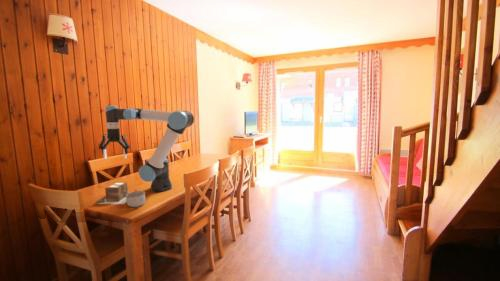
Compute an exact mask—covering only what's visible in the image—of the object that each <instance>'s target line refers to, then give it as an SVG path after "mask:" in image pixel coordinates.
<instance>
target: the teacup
mask: <svg viewBox="0 0 500 281" xmlns="http://www.w3.org/2000/svg"><path fill="white" fill-rule="evenodd" d="M126 200H127V202H126V204H127V206H128V207H131V208H138V207H139V208H140V207H141V206H143V205H144V204H145V203H146V192H145V191H143V190H134V191H130V192H129V193H128V194H127V195H126Z"/></svg>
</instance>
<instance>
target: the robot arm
mask: <svg viewBox="0 0 500 281" xmlns="http://www.w3.org/2000/svg"><path fill="white" fill-rule="evenodd" d="M105 119H106V122H105V124H106V133H107V135H102V139H101V140H100V141H101V142H100V144H99V146H98V149H99V150H101V154H102V155H103V160H106V159H108V154H107V149H106V148H107V147H108V146H109V144H111V143H115V142H116V143H118V144H119V145H120V146H121V147H122V148H123V159H124V160H125V159H128V156H127V154H128V153H129V152H128V149H130V148H131V146H130V143H128V141H127V139H126V136H125V135H124V134H123V135H121V134H120V120H121V121H122V120H123V121H126V120H127V121H130V120H143V121H144V120H145V121H154V122H163V123H164V122H165V123H167V124H166V128H167V129H166V131H165V132H164V134H163V136H162V138H161V139H160V142H159V143H158V145H157V147H156V148H155V151H154V152H153V153H152V156H151V157H148V158H147V160H146V162H144V165H142V166H140V168H139V169H138V175H139V177H140V179H141V180H142V181H144V182H148V183H149V182H150V183H151V184H150V190H151V191H152V192H157V193H158V192H166V191H169V190H171V189H172V188H173V183H172V182H171V179H170V167H169V159H168V158H167V157H168V155H169V153H170V152H171V151H172V148H173V147H174V145H175V143H176V142H177V140H178V138H179V136H181V135H183V134H184V132H185V130H186V129H187V128H190V127H191V126H192V125H193V124H194V122H195V117H194V114H193V113H192V112H190V111H188V110H175V111H166V110H156V109H155V110H154V109H144V108H129V107H128V108H119V107H118V105H106V106H105Z"/></svg>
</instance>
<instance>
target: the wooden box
mask: <svg viewBox="0 0 500 281" xmlns="http://www.w3.org/2000/svg"><path fill="white" fill-rule="evenodd" d="M104 189H105V196H106V202H119V201H120V200H122V199H123V198H125V197H126V195H127V194H128V192H129V191H128V189H129V188H128V182H117V181H116V182H114V183H112V184H110V185H109V186H107V187H105V188H104Z"/></svg>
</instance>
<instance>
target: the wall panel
mask: <svg viewBox="0 0 500 281" xmlns="http://www.w3.org/2000/svg"><path fill="white" fill-rule="evenodd" d="M94 203H95V205H125V204H127V200H126V197H125V198H123V199H122V200H120V201H119V202H106V195H104V196H103V197H100V198H99V199H97V200H96V201H95V202H94Z"/></svg>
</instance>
